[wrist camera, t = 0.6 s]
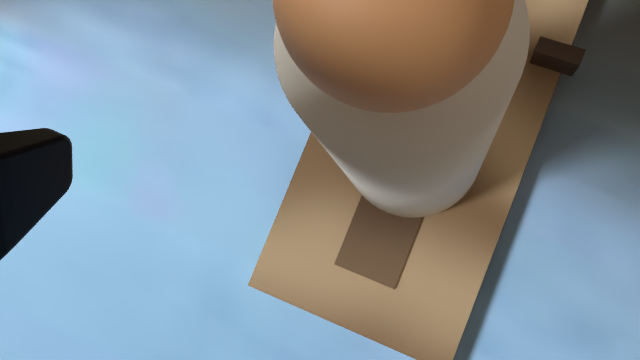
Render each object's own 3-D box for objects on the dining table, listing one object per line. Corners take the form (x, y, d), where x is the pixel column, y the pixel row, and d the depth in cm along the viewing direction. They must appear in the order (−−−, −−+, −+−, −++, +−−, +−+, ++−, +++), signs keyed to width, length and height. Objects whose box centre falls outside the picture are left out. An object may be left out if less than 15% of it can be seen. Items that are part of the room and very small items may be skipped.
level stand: (457, 374, 22) (461, 387, 20) (244, 281, 24) (221, 281, 22) (672, -198, 24) (703, -259, 22) (460, -242, 26) (463, -302, 24)
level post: (453, 238, 22) (496, 158, 8) (326, 189, 23) (152, 36, 9) (501, 111, 22) (631, -195, 8) (374, 68, 23) (287, -266, 9)
